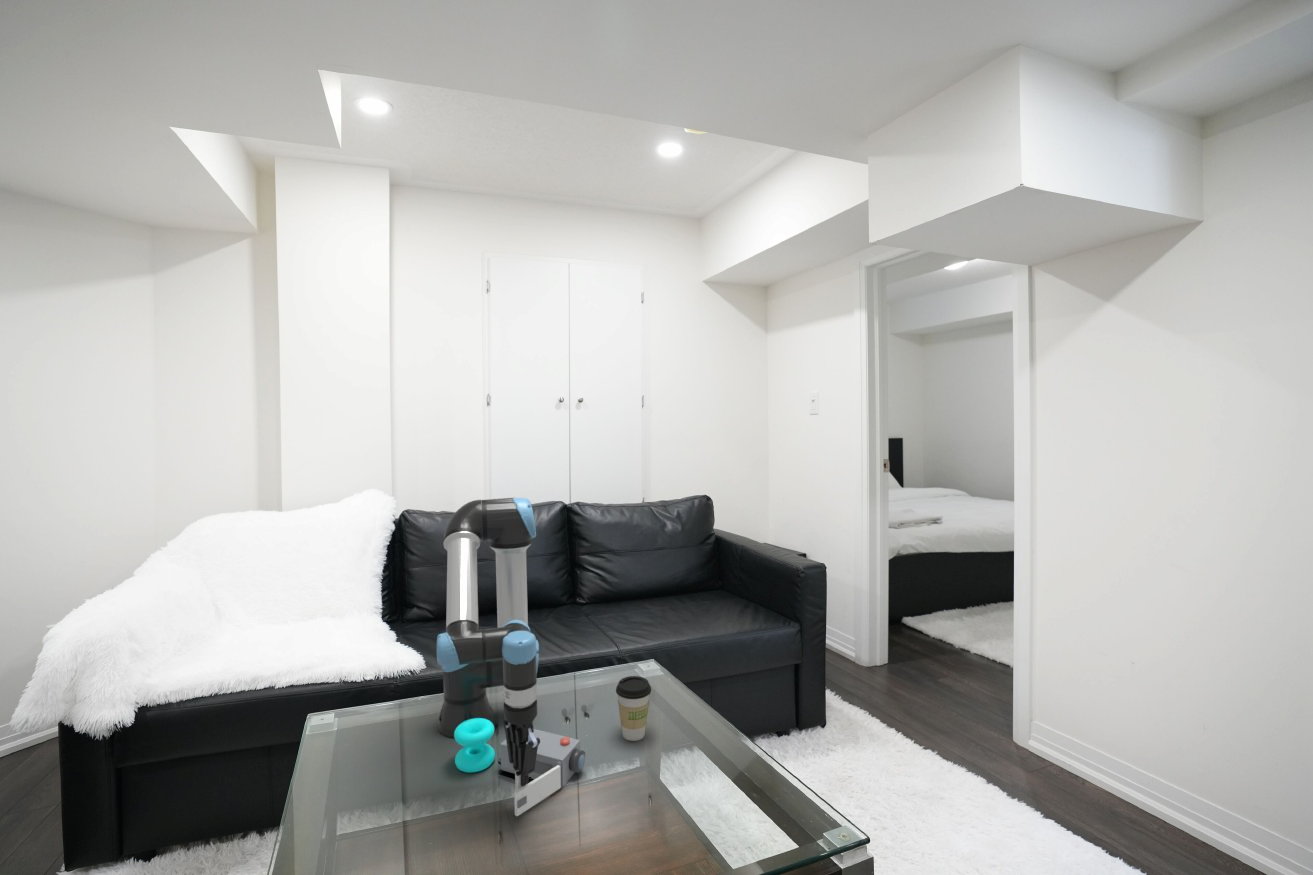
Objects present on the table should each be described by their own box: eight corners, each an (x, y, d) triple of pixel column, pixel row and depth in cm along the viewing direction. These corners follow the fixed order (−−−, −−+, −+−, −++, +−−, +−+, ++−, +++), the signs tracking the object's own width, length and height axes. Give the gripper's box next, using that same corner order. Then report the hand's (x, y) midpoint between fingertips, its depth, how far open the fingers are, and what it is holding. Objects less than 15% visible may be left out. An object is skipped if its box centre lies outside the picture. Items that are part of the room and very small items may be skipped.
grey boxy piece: (500, 770, 162) (499, 741, 161) (521, 749, 170) (520, 722, 169) (571, 789, 154) (570, 759, 153) (588, 767, 163) (588, 739, 162)
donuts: (451, 739, 158) (456, 717, 168) (452, 776, 159) (457, 753, 169) (492, 735, 160) (495, 714, 169) (493, 772, 161) (496, 749, 170)
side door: (517, 818, 144) (517, 792, 143) (513, 815, 145) (512, 789, 144) (564, 787, 154) (563, 763, 153) (559, 785, 155) (559, 760, 154)
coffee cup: (647, 746, 172) (647, 694, 170) (612, 742, 174) (611, 690, 172) (654, 726, 181) (654, 676, 180) (621, 722, 183) (620, 673, 182)
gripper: (491, 695, 147) (494, 789, 150) (520, 717, 138) (522, 818, 141) (520, 684, 152) (522, 775, 155) (549, 705, 143) (551, 802, 146)
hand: (522, 795), depth 148 cm, fingers closed
